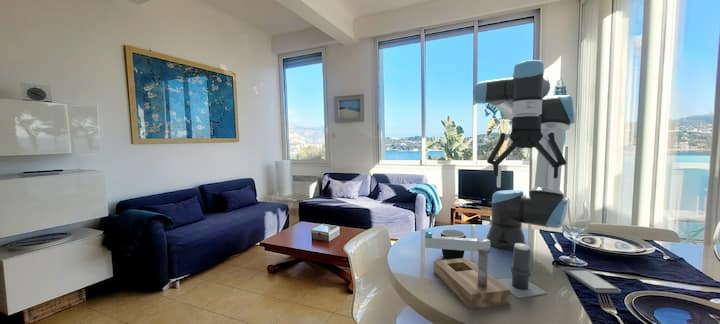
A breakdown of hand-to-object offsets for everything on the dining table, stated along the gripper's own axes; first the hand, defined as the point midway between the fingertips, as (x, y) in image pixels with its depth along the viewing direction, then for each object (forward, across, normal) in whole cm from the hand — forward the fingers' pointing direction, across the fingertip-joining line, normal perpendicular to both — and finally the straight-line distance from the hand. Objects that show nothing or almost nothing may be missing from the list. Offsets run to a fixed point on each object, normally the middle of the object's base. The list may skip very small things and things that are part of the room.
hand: (523, 188), depth 86 cm
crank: (+17, -19, -11) cm, 27 cm away
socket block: (+31, -15, -4) cm, 34 cm away
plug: (+30, 0, 0) cm, 30 cm away
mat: (+31, 0, 0) cm, 31 cm away
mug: (+31, -20, +17) cm, 41 cm away
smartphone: (+31, +22, +12) cm, 40 cm away
